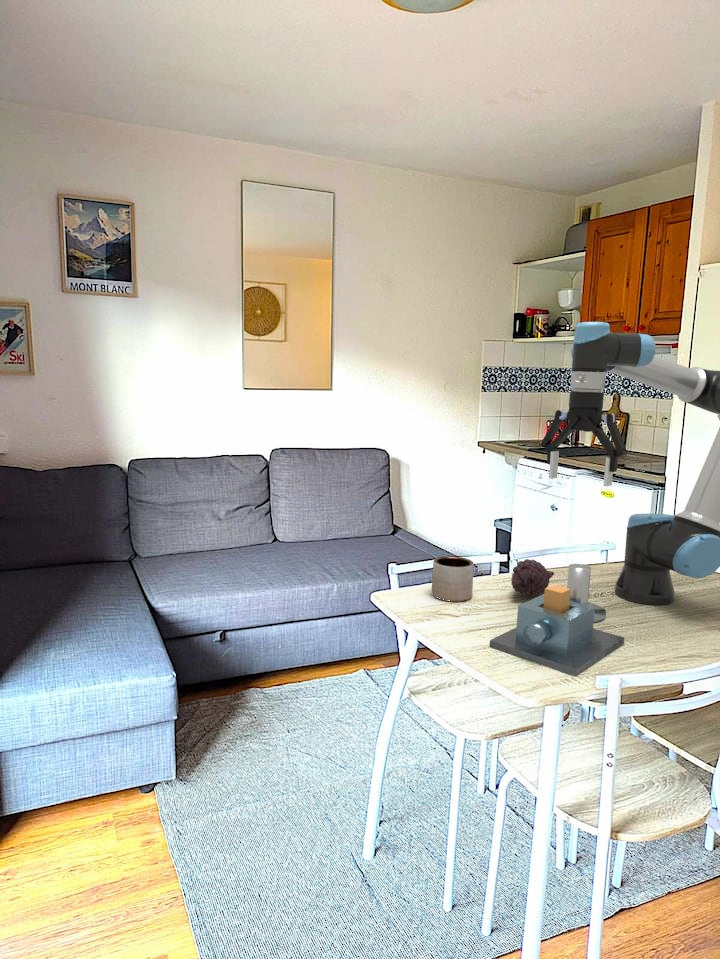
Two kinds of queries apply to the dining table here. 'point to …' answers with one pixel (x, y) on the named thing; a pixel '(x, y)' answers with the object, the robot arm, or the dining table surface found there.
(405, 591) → the dining table surface
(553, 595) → the orange rectangular block
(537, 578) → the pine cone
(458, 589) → the planter
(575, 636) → the grey square hole fixture
